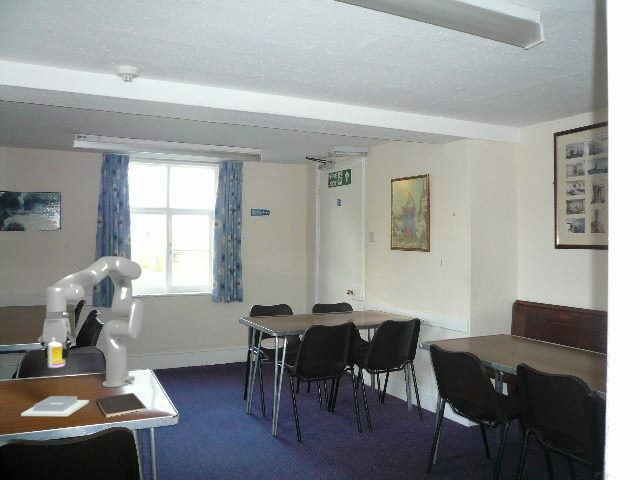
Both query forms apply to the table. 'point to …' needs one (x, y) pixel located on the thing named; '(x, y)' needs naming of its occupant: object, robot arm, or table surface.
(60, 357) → the supplement bottle
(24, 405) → the table surface
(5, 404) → the table surface
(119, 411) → the hardcover book
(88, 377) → the table surface
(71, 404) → the holder board
